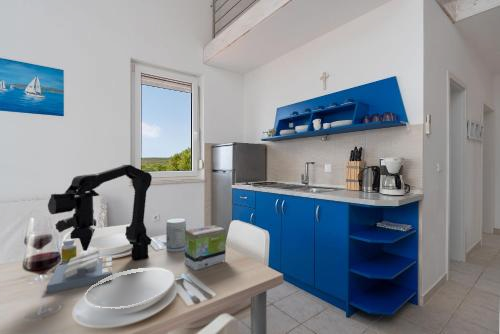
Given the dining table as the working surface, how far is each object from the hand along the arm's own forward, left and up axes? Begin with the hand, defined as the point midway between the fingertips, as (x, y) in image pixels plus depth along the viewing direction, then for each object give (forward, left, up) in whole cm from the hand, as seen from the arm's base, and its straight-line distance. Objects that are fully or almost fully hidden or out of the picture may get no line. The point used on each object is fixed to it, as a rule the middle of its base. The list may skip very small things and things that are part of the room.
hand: (85, 250), depth 92 cm
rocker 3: (+1, +3, -5) cm, 6 cm away
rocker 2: (+1, -3, -5) cm, 6 cm away
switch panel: (+1, -3, -11) cm, 11 cm away
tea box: (-44, +9, -11) cm, 46 cm away
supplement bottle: (+8, -23, -11) cm, 27 cm away
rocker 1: (+1, -9, -5) cm, 11 cm away
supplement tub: (-37, -15, -11) cm, 42 cm away
